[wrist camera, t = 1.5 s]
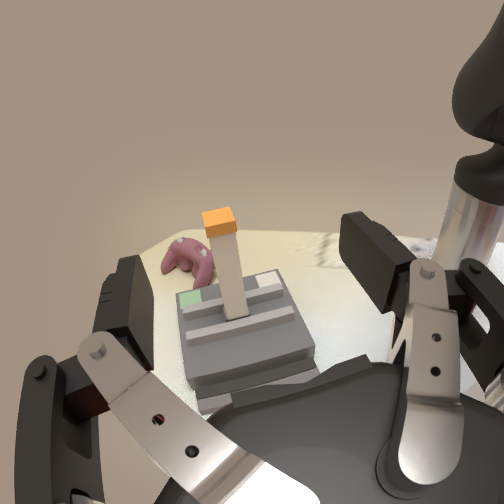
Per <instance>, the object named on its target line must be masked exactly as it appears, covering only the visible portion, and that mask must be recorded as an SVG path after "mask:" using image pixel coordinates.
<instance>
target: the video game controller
mask: <svg viewBox="0 0 504 504" xmlns="http://www.w3.org/2000/svg"><path fill="white" fill-rule="evenodd" d="M178 260H179V263H180V267H181V269H182V270H184V271H185V270H190V269H192V273H193V275H194V276H195V277H196V279H195V281H194V285H193V289H197V288H201V287H206V286H207V285H208V283H209V281H210V279H211V276H212V273H213V270H214V269H215V264H214V260H213V256H212V251H211V250H209V249H208V248H207V247H206V246H205V245H203V244H202V243H200V242H199V241H197V240H194V239H191V238H179V239H177V240H174V242H173V243H171V245H170V247H169V249H168V251H167V253H166V255H165V257H164V259H163V261H162V263H161V271H162V273H165V274H166V273H168V272H169V271H171V270H172V268H173V267H174V266H175V265H176V263H177V262H178ZM193 262H195V264H194V265H193Z"/></svg>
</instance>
